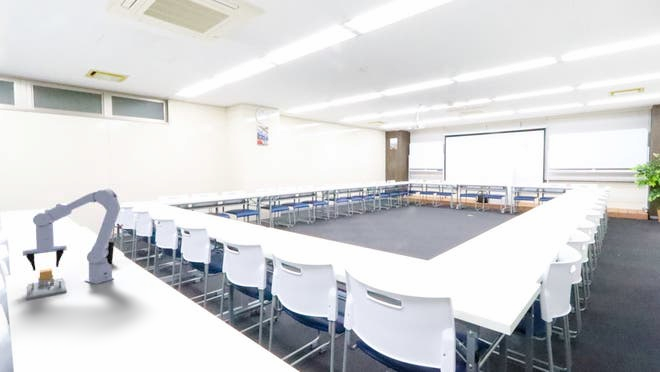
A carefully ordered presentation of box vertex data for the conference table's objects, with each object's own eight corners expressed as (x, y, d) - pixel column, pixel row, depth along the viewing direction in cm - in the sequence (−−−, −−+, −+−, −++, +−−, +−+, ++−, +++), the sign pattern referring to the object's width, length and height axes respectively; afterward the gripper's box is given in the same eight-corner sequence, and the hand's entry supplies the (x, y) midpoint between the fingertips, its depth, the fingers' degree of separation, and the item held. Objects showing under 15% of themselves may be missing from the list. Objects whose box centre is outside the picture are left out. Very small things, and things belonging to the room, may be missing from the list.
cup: (107, 266, 169) (107, 245, 168) (94, 266, 169) (93, 244, 169) (117, 262, 177) (117, 241, 176) (104, 262, 177) (104, 241, 176)
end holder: (53, 283, 139) (53, 278, 139) (38, 286, 135) (38, 281, 135) (53, 280, 144) (53, 274, 144) (38, 282, 140) (38, 277, 140)
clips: (61, 286, 136) (61, 280, 136) (31, 291, 129) (31, 286, 129) (60, 282, 140) (60, 277, 140) (31, 287, 134) (31, 282, 134)
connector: (52, 283, 139) (51, 270, 139) (40, 285, 136) (39, 272, 136) (51, 281, 142) (51, 268, 142) (39, 283, 139) (39, 270, 139)
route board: (66, 292, 132) (66, 289, 132) (27, 300, 123) (27, 297, 123) (62, 280, 147) (62, 277, 146) (27, 286, 138) (27, 284, 138)
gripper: (65, 235, 147) (66, 263, 147) (22, 239, 136) (23, 269, 137) (66, 237, 142) (67, 266, 142) (22, 242, 131) (23, 273, 132)
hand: (45, 268), depth 139 cm, fingers open, 7 cm apart
